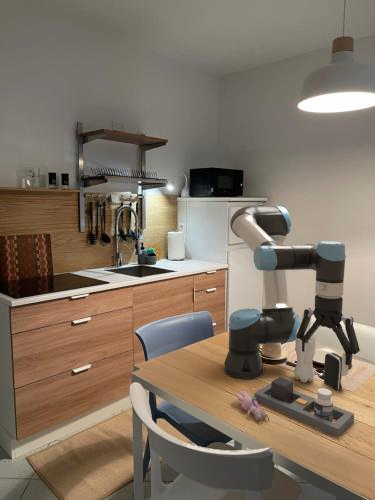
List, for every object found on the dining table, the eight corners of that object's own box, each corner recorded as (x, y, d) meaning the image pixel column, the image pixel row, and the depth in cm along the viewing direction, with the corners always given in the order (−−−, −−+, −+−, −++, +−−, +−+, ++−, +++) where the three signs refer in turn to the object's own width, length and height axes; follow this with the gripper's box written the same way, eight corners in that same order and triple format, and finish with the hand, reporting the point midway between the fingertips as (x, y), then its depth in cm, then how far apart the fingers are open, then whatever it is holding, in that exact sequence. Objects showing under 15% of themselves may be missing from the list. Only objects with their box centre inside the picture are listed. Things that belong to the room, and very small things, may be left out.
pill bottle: (310, 414, 117) (312, 387, 116) (327, 414, 117) (328, 386, 116) (318, 424, 112) (319, 396, 110) (335, 424, 112) (337, 395, 111)
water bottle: (314, 376, 142) (317, 311, 139) (314, 385, 136) (317, 316, 133) (294, 373, 145) (296, 309, 142) (293, 382, 138) (295, 314, 135)
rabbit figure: (273, 424, 114) (244, 394, 127) (275, 407, 112) (246, 379, 125) (256, 430, 111) (228, 399, 124) (258, 412, 110) (230, 383, 122)
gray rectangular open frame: (253, 400, 125) (254, 379, 124) (272, 388, 133) (273, 369, 132) (337, 437, 106) (338, 413, 105) (353, 421, 113) (355, 399, 112)
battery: (345, 389, 133) (347, 358, 131) (336, 391, 131) (338, 359, 130) (331, 380, 139) (333, 350, 138) (323, 382, 138) (324, 352, 136)
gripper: (286, 290, 115) (283, 360, 118) (365, 305, 99) (360, 386, 102) (298, 287, 120) (296, 353, 123) (376, 300, 104) (371, 377, 107)
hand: (325, 368), depth 112 cm, fingers open, 11 cm apart
